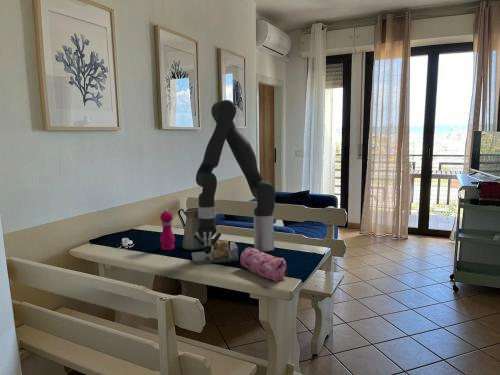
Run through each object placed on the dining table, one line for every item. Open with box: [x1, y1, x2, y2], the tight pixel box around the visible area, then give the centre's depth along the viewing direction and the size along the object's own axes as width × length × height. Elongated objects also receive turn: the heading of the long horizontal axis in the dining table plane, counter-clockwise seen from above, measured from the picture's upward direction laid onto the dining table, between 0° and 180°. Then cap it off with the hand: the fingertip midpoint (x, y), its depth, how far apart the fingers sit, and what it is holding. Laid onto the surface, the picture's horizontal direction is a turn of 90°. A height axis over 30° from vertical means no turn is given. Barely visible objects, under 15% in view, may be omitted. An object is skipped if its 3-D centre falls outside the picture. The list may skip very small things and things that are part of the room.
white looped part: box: [118, 237, 135, 249], centre depth 188 cm, size 9×8×4 cm
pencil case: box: [239, 246, 289, 282], centre depth 149 cm, size 21×9×9 cm, turn 41°
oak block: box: [216, 239, 230, 256], centre depth 168 cm, size 5×5×6 cm
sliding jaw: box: [211, 243, 219, 258], centre depth 167 cm, size 2×10×5 cm, turn 12°
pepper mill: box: [159, 208, 176, 251], centre depth 181 cm, size 7×7×20 cm
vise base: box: [191, 241, 240, 265], centre depth 168 cm, size 20×12×6 cm, turn 102°
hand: (207, 253), depth 167 cm, fingers closed
